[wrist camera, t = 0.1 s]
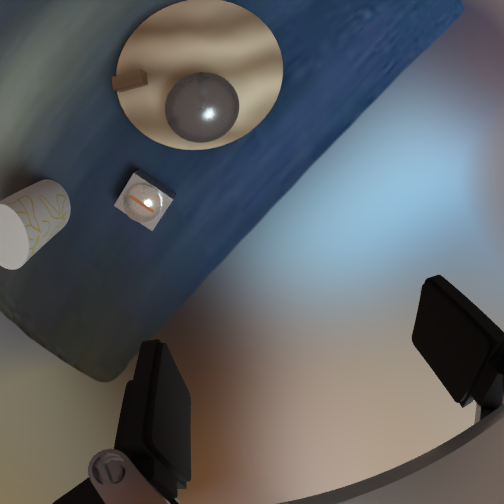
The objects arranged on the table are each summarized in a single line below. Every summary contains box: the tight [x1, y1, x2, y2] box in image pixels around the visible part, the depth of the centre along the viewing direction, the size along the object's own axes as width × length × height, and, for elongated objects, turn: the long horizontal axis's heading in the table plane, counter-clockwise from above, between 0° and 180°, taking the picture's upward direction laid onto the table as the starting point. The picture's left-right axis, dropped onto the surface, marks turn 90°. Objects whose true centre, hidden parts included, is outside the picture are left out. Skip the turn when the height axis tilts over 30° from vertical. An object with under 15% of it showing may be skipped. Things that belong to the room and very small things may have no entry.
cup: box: [0, 179, 70, 270], centre depth 30 cm, size 8×8×12 cm
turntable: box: [112, 0, 283, 150], centre depth 28 cm, size 20×20×4 cm
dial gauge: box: [114, 169, 176, 231], centre depth 35 cm, size 6×5×4 cm
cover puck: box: [165, 72, 239, 143], centre depth 30 cm, size 8×8×3 cm
